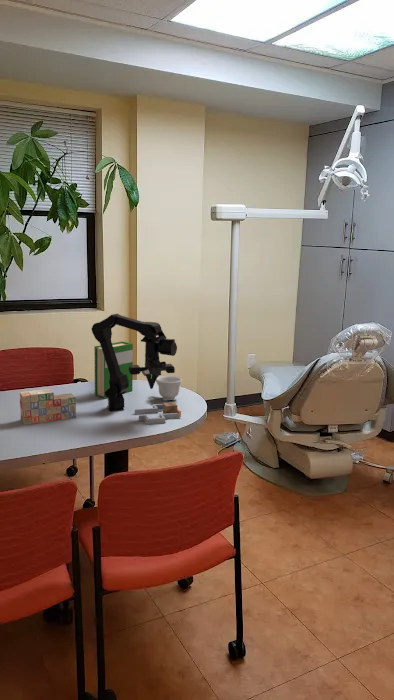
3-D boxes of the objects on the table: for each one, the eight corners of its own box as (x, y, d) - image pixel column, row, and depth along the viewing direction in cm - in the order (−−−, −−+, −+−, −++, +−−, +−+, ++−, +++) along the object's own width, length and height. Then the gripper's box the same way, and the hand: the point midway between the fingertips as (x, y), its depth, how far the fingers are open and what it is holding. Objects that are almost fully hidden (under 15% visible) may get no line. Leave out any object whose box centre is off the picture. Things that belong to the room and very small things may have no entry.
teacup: (165, 392, 267) (166, 373, 265) (186, 399, 257) (187, 379, 255) (146, 397, 259) (147, 376, 257) (167, 404, 249) (168, 383, 247)
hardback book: (105, 399, 254) (105, 348, 249) (94, 395, 259) (94, 346, 254) (132, 391, 268) (132, 343, 263) (121, 388, 272) (122, 341, 267)
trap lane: (141, 424, 222) (141, 417, 221) (132, 410, 240) (132, 403, 239) (183, 421, 228) (184, 414, 227) (172, 407, 245) (172, 401, 245)
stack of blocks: (72, 413, 233) (71, 386, 230) (76, 418, 227) (75, 390, 225) (20, 420, 223) (19, 391, 220) (23, 425, 217) (22, 395, 215)
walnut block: (165, 417, 232) (166, 406, 231) (162, 413, 237) (163, 402, 236) (177, 416, 234) (177, 405, 233) (174, 412, 238) (174, 401, 237)
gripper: (133, 357, 218) (133, 395, 221) (178, 356, 223) (177, 393, 227) (128, 351, 228) (128, 387, 232) (171, 350, 234) (170, 385, 237)
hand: (151, 388), depth 231 cm, fingers closed
